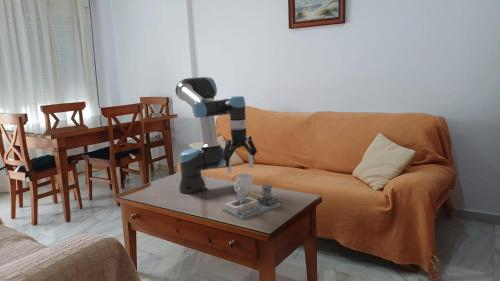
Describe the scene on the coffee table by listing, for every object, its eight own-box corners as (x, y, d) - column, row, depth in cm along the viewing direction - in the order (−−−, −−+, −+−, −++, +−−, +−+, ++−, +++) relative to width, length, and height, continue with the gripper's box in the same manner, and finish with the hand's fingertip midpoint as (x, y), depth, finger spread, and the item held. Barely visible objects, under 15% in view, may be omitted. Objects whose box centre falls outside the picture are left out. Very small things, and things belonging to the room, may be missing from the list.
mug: (240, 198, 202) (238, 180, 201) (229, 195, 208) (228, 177, 206) (255, 193, 211) (255, 175, 209) (245, 190, 216) (244, 172, 215)
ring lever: (243, 197, 200) (243, 193, 199) (253, 194, 204) (253, 190, 203) (266, 206, 185) (266, 201, 185) (277, 202, 190) (277, 197, 189)
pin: (236, 208, 186) (235, 188, 184) (242, 206, 188) (241, 186, 186) (241, 210, 183) (240, 190, 181) (247, 207, 185) (246, 188, 183)
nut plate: (222, 210, 187) (220, 191, 185) (259, 198, 201) (258, 180, 200) (242, 219, 174) (240, 198, 173) (280, 205, 189) (279, 186, 187)
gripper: (221, 132, 175) (223, 177, 180) (263, 125, 190) (264, 166, 194) (212, 131, 181) (215, 173, 186) (253, 124, 196) (255, 164, 200)
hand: (240, 170), depth 190 cm, fingers open, 13 cm apart
